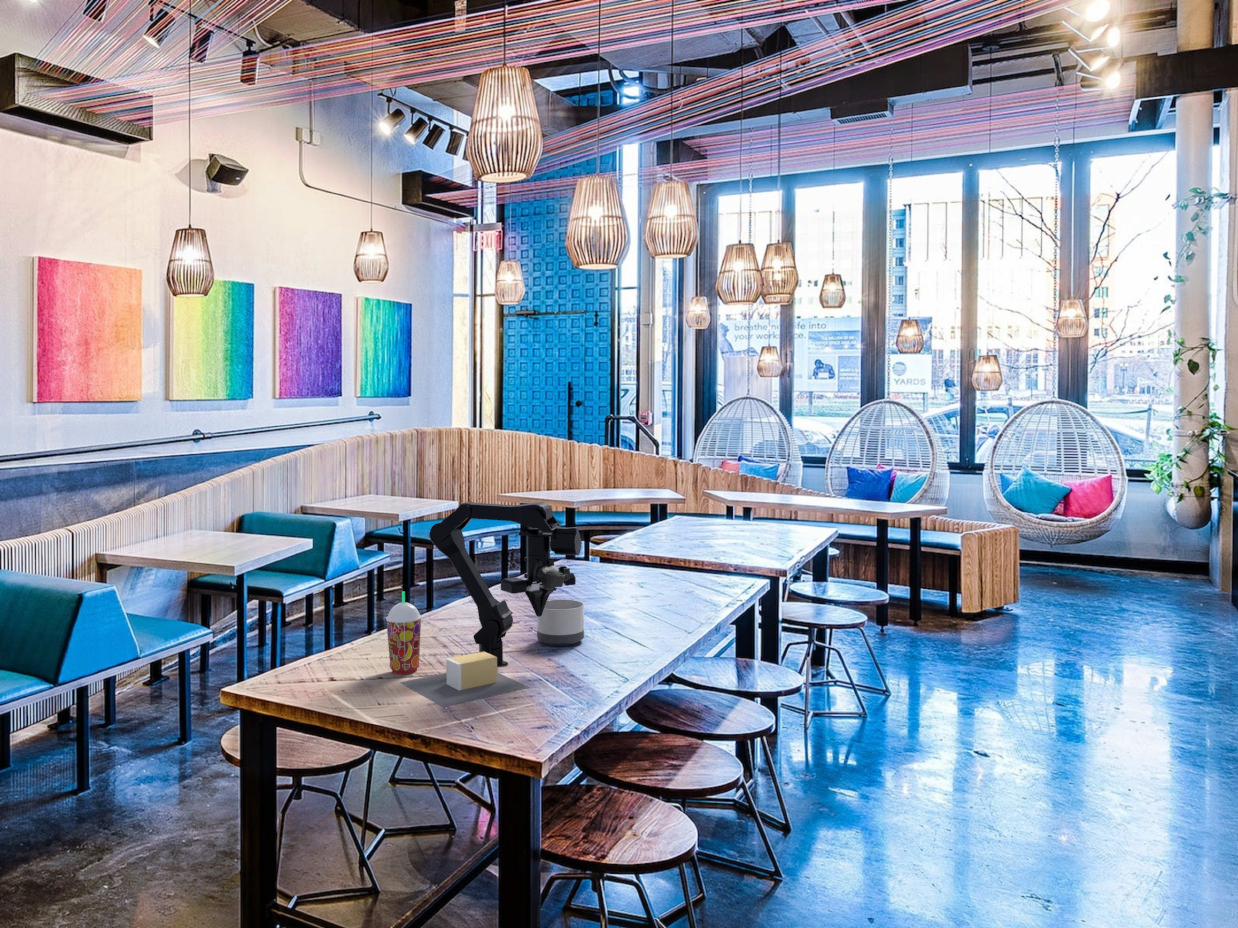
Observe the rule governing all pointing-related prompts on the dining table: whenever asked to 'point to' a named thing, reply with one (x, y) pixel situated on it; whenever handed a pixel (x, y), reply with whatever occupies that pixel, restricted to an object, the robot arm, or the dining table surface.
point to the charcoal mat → (448, 695)
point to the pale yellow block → (471, 670)
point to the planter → (561, 623)
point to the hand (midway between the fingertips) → (538, 616)
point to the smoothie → (404, 637)
